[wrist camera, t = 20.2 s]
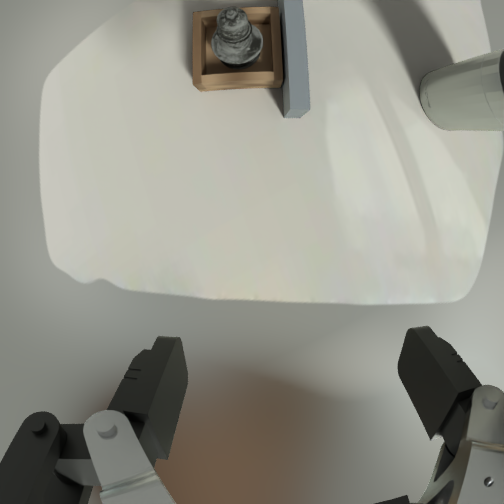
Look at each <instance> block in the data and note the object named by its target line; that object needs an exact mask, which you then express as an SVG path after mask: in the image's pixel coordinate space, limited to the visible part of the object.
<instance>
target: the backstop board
mask: <svg viewBox="0 0 504 504" xmlns="http://www.w3.org/2000/svg"><path fill="white" fill-rule="evenodd" d="M277 1H278V7H279V18H280V34H281V50H282V69H283V81H282V85H283V110H284V118H300V117H302V116H303V115H304V114H305V113H307V112H308V111H309V110H310V93H309V74H308V58H307V44H306V32H305V20H304V10H303V1H302V0H277Z"/></svg>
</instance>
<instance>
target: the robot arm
mask: <svg viewBox="0 0 504 504" xmlns="http://www.w3.org/2000/svg"><path fill="white" fill-rule="evenodd" d="M420 100H421V104H422V107H423V109H424V111H425V113H426V115H427V116H428V118H429V119H430V120H431V121H432V122H433V123H434V124H435V125H436V126H438V127H439V128H441V129H443V130H448V131H455V130H465V131H504V49H501V50H497V51H494V52H491V53H487V54H484V55H481V56H477V57H474V58H471V59H468V60H464V61H461V62H458V63H455V64H452V65H449V66H447V67H443V68H441V69H438V70H435V71H432V72H430V73H428V74H427V75H426V76H425V77H424V78H423V80H422V82H421V85H420ZM398 374H399V377H400V379H401V381H402V383H403V385H404V387H405V389H406V390H407V393H408V395H409V397H410V399H411V401H412V403H413V405H414V407H415V409H416V411H417V413H418V415H419V417H420V419H421V421H422V423H423V425H424V427H425V429H426V432H427V434H428V436H429V438H430V440H435V439H438V438H441V437H443V439H444V443H443V444H442V446H441V449H440V452H439V455H438V458H437V461H436V464H435V467H434V471H433V473H432V476H431V479H430V482H429V484H428V486H427V489H426V490H425V492H424V494H423V495H422V497H421V498H420V500H419V501H418V503H409V499H408V496H407V495H405V496H402V497H398V498H395V499H392V500H387V501H383V502H379V503H375V504H504V393H503V391H502V390H500V389H499V388H497V387H495V386H492V385H483V386H482V384H481V383H480V382H479V380H478V379H477V378H476V376H475V375H474V374H473V373H472V371H471V370H470V368H469V367H468V366H467V365H466V363H465V362H463V360H462V358H461V357H460V356H459V355H457V352H456V351H455V349H454V348H453V347H452V346H451V344H449V343H448V342H446V341H445V340H443V339H442V338H440V337H437V336H436V334H435V333H434V332H433V331H432V329H431V328H430V327H429V326H423V327H416V328H410V329H408V331H407V333H406V336H405V340H404V343H403V347H402V351H401V354H400V357H399V361H398ZM187 385H188V371H187V367H186V361H185V356H184V351H183V346H182V341H181V339H180V337H164V336H159V337H157V339H156V341H155V343H154V345H153V347H152V349H151V350H143V351H142V352H140V353H139V354H138V355H137V356H136V357H135V358H134V359H133V360H132V362H131V364H130V366H129V368H128V371H127V372H126V374H125V375H124V379H122V381H121V383H120V385H119V387H118V389H117V391H116V393H115V395H114V397H113V399H112V401H111V403H110V405H109V407H108V409H107V410H104V411H100V412H97V413H95V414H93V415H92V416H91V417H90V418H88V419H87V421H86V423H85V424H60V423H59V421H58V420H57V418H56V417H55V416H54V415H53V414H51V413H49V412H36V413H33V414H32V415H30V416H29V417H27V418H26V419H25V420H24V422H23V423H22V425H21V427H20V428H19V430H18V432H17V434H16V435H15V437H14V439H13V441H12V442H11V444H10V446H9V448H8V450H7V452H6V453H5V455H4V457H3V459H2V461H1V463H0V504H88V501H89V498H90V495H91V491H92V488H93V486H94V485H95V486H96V485H97V486H102V491H100V497H101V501H102V503H103V504H175V502H174V500H173V499H172V497H171V496H170V494H169V493H168V491H167V489H166V488H165V487H164V485H163V483H162V481H161V480H160V478H159V476H158V475H157V473H156V471H155V469H154V466H155V462H156V459H157V458H159V459H166V460H168V457H169V453H170V449H171V445H172V441H173V437H174V434H175V430H176V426H177V422H178V419H179V414H180V411H181V408H182V404H183V400H184V397H185V393H186V389H187Z"/></svg>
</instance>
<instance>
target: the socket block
mask: <svg viewBox="0 0 504 504" xmlns="http://www.w3.org/2000/svg"><path fill="white" fill-rule="evenodd" d="M240 9H242V10H244V11H245V13H246V14H247V17H248V20H249V21H250V23H251V24H252V25H254V26H255V27H256V28H258V29H259V31H260V32H261V34H262V37H263V47H262V49H261V51H260V56H259V58H258V60H257V61H256V63H254V64H253V65H252V66H250V67H248V68H245V69H232V68H229V67H227V66H225V65H224V64H223V63H222V62H221V61H220V59H219V58H218V57H217V56H216V55H215V54H214V52H213V50H212V47H211V40H212V37H213V34H214V33H215V32H216V30H217V26H218V25H217V16H218V14H219V13H220V12H221V11H222V10H223V9H216V10H207V11H198V12H193V85H194V86H195V87H196V88H197V89H198V90H199V91H200V92H202V91H213V90H226V89H244V88H280V87H281V84H282V81H283V69H282V50H281V34H280V18H279V7H244V8H240Z"/></svg>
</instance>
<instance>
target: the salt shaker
mask: <svg viewBox="0 0 504 504" xmlns="http://www.w3.org/2000/svg"><path fill="white" fill-rule="evenodd" d="M217 25H218V26H217V30H216V32H215V33H214V34H213V37H212V40H211V47H212V50H213V52H214V54H215V55H216V56H217V57H218V58H219V59H220V61H221V62H222V63H223V64H224V65H225V66H227V67H229V68H232V69H245V68H248V67H250V66H252V65H253V64H254V63H256V61H257V60H258V58H259V56H260V51H261V49H262V47H263V37H262V34H261V32H260V31H259V29H258V28H256V27H255V26H254V25H252V24H251V23H250V21H249V20H248V17H247V14H246V13H245V11H244V10H242V9H240V8H238V7H228V8H225V9H223V10H222V11H221V12H220V13H219V14H218V16H217Z"/></svg>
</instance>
